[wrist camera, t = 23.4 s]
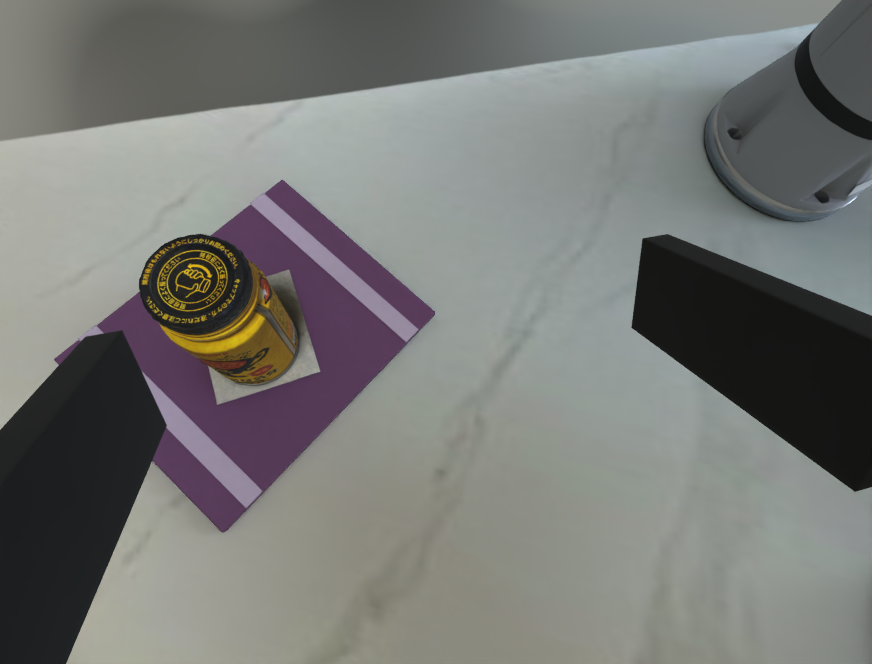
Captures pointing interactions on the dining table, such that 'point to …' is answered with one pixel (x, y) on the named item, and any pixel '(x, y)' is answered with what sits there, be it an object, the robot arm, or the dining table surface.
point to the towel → (287, 403)
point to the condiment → (228, 315)
